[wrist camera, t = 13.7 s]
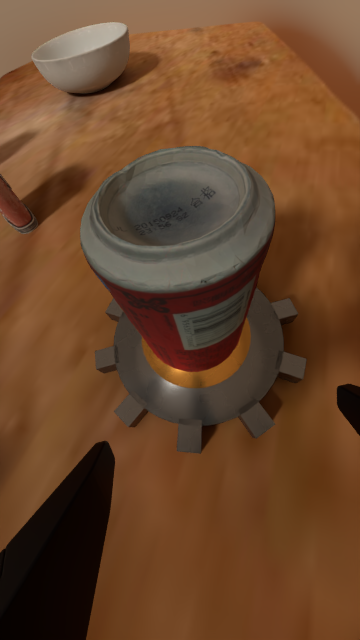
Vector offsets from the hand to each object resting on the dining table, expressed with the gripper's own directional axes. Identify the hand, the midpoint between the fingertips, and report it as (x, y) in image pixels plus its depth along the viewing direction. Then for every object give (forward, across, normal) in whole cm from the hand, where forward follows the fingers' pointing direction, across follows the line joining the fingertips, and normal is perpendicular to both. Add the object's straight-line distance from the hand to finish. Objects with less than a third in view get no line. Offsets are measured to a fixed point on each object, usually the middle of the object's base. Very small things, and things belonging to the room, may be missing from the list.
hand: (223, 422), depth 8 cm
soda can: (+10, 0, 0) cm, 10 cm away
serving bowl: (+60, +8, -47) cm, 76 cm away
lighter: (+29, +20, -16) cm, 38 cm away
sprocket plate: (+11, 0, +1) cm, 11 cm away
